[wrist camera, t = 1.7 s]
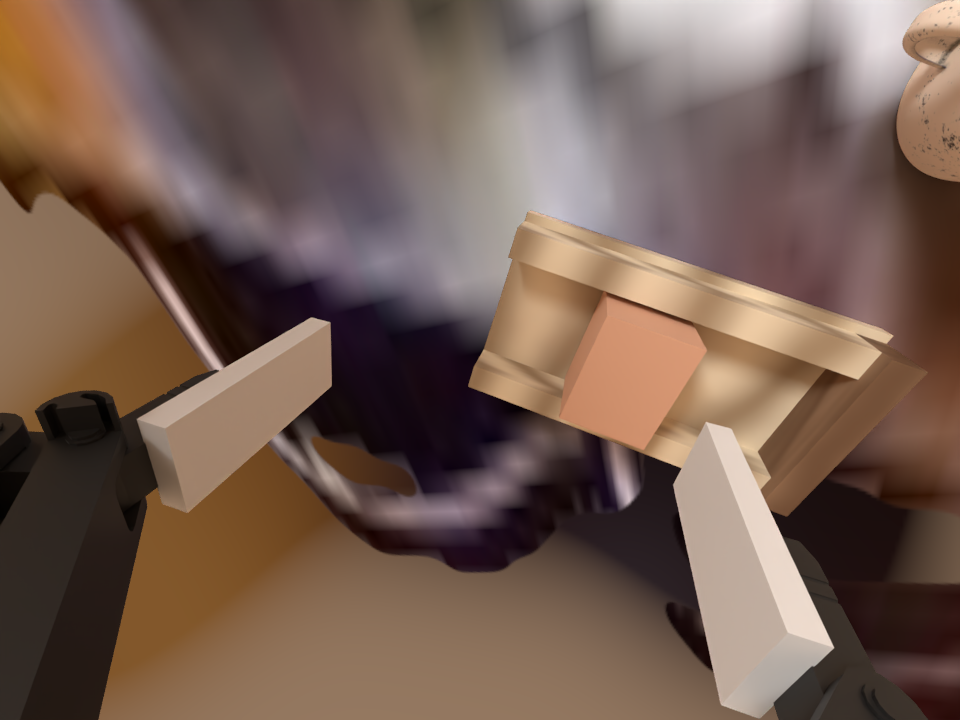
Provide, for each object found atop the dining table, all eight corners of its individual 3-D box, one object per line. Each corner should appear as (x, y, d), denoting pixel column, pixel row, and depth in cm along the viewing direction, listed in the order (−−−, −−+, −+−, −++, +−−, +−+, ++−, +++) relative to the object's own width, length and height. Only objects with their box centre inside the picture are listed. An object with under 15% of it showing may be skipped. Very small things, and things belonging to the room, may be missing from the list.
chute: (479, 368, 37) (462, 398, 33) (529, 210, 30) (517, 220, 26) (758, 473, 35) (781, 521, 30) (882, 328, 28) (936, 363, 23)
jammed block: (565, 376, 34) (558, 417, 29) (606, 285, 30) (607, 315, 25) (636, 403, 33) (643, 450, 28) (688, 314, 29) (707, 350, 24)
